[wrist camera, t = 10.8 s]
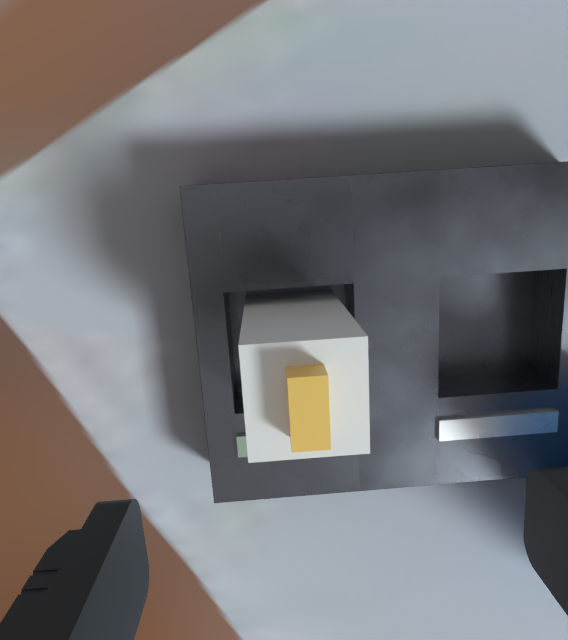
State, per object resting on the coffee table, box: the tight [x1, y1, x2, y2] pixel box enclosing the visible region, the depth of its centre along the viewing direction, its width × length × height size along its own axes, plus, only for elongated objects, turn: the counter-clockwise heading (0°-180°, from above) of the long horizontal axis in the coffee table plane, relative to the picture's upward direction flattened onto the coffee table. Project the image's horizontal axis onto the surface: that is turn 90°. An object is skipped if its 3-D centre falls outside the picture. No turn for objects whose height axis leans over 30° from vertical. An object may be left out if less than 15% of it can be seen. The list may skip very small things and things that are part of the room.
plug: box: [238, 290, 370, 463], centre depth 19 cm, size 4×4×9 cm
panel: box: [180, 162, 568, 503], centre depth 22 cm, size 17×14×3 cm
